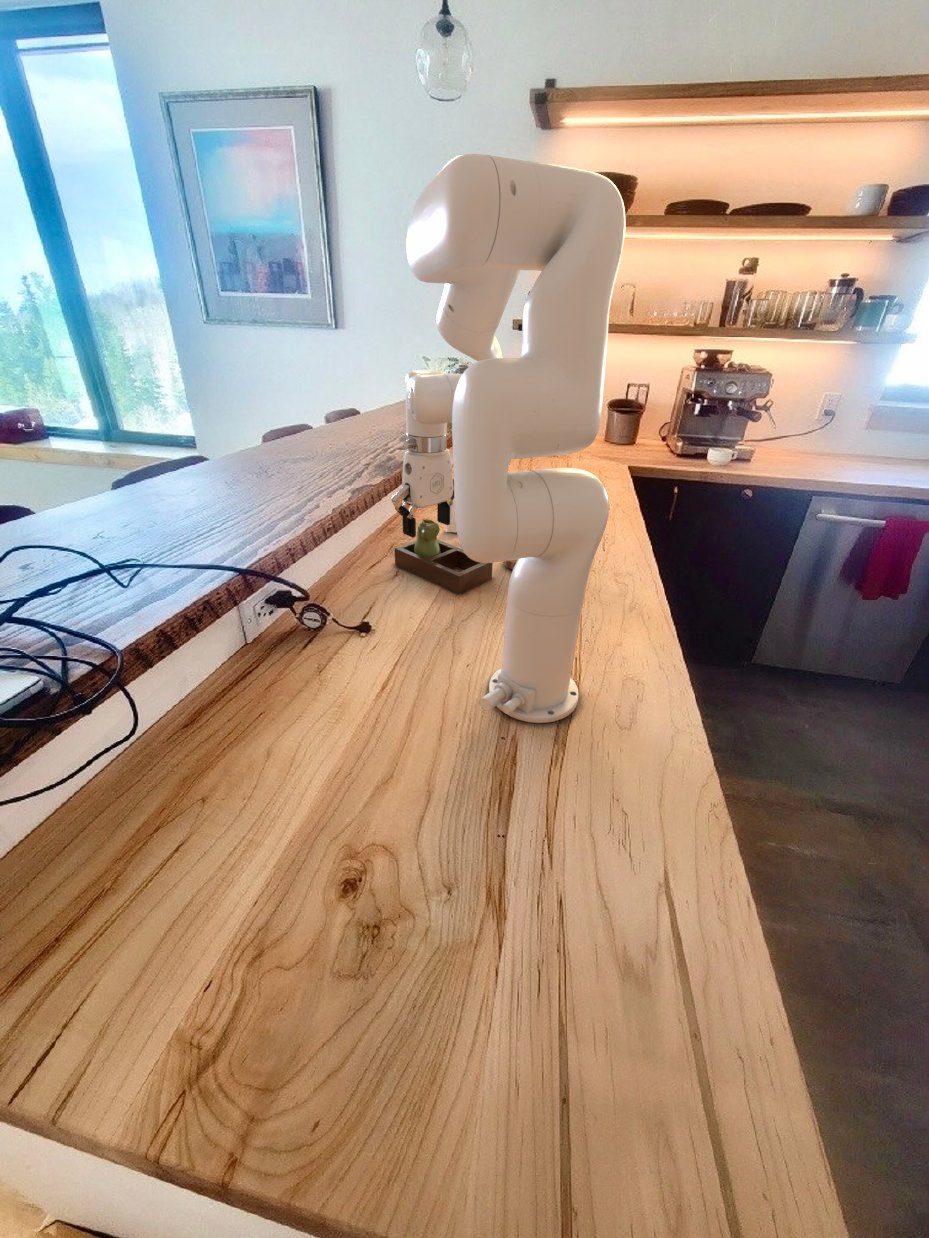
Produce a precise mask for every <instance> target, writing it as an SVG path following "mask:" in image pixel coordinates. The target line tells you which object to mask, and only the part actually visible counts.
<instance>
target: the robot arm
mask: <svg viewBox="0 0 929 1238" xmlns="http://www.w3.org/2000/svg"><path fill="white" fill-rule="evenodd" d="M625 235H626V211H625V205H624V200H623V198H622V195H621V192H620V191H619V189H618V188H617V186H616V185H615V184H614V182H613V181H612V180H610V179H609V178H608V177H607V176H605V175H601V174H599V173H597V172H594V171H589V170H585V169H581V168H577V167H573V166H565V165H559V164H553V163H548V162H547V163H546V162H540V161H531V160H522V159H517V158H509V157H503V156H496V155H491V154H480V153H463V154H460V155H457V156H455V157H454V158H452V159H451V160H449V161H448V162H447V163H446V164H445V165H444V166H443V167H442V169H441V170H440V171H439V172H438V173H437V174H436V175H435V176H434V177H433V178H432V179H431V180H430V182H428V183H427V185H426V186H425V187H424V188H423V189H422V191H421V192H420V194H419V196H418V198H417V199H416V202H415V203H414V206H413V208H412V210H411V214H410V217H409V219H408V225H407V231H406V257H407V262H408V266H409V268H410V271H411V273H412V274H413V276H414V277H415V278H416V279H418V280H419V281H420V282H423V283H427V284H444V286H443V290H442V293H441V297H440V301H439V305H438V307H437V313H436V319H435V322H436V326H437V330H438V332H439V334H440V336H441V338H443V340H444V341H445V342H446V343H447V344H448V345H449V346H450V347H451V348H452V349H454V350H457V351H458V352H459V353H461V354H464V355H465V356H467V357H468V358H470V359H473V360H475V362H474V363H472V364H470V365H469V366H468V367H467V368H466V369H465V370H464V371H463V373H445V372H443V371H441V370H435V369H412V370H410V371H409V372H407V373H406V375H405V378H404V379H405V380H404V382H405V383H404V390H405V391H404V393H405V395H404V396H405V424H406V425H405V427H406V428H405V430H406V436H405V437H406V440H404V441H403V447H404V449H406V451H405V452H404V455H403V463H402V473H401V475H402V476H401V488H400V489H399V490H398V491H396V492H395V494H393V495H392V497H391V498H390V499H391V500H390V501H391V503H392V505H393V507H394V510H395V512H397V513H398V514H399V516H401V517H402V533H403V535H406V536H408V537H410V538H416V536H417V519H416V517H414V516H415V515H416V512H417V510H418V509H425V508H428V507H432V506H435V505H437V508H436V509H437V511H436V513H437V516H436V518H437V519H436V520H437V522H438V523H440V524H443V525H445V526H446V525H449V524H450V506H452V504H453V499H454V504H455V521H456V530H457V532H456V534H457V539H458V542H459V545H460V547H461V548H460V549H462V550H463V551H464V553H465V554H466V555H467V556H468V557H469V558H470V559H472V560H474V561H476V562H480V563H493V564H494V563H501V562H503V563H504V561H509V560H515V559H518V561H517V562H516V564H515V566H514V569H513V570H512V571H511V573H510V577H509V582H508V588H507V599H506V610H505V611H506V612H505V621H504V633H503V644H502V645H503V646H502V657H501V658H502V660H501V667H500V668H498V669H497V670H496V671H495V672H494V673H493V674H492V675H491V677H490V679H489V683H488V693H487V694H485V695H484V696H482V697H481V698H480V699H479V705H480V707H481V708H482V709H483V710H484V711H485V712H489V711H491V710H493V709H494V708H495V707H496V708H497V709H498V710H499V711H500V712H502V713H503V714H505V715H507V716H509V717H510V718H514V719H515V720H519V721H523V722H527V723H534V724H547V723H552V722H557V721H559V720H562V719H564V718H567V717H568V716H570V715H571V714H572V713H573V712H574V711H575V709H576V708H577V705H578V702H579V697H580V693H579V688H578V686H577V683H576V682H575V680H573V678H572V677H571V676H572V671H573V665H574V659H575V653H576V649H577V643H578V642H577V641H578V636H579V631H580V626H581V625H580V624H581V618H582V613H583V608H584V603H585V598H586V592H587V587H588V581H589V576H590V573H591V569H592V565H593V563H594V559H595V556H596V553H597V551H598V548H599V546H600V543H601V542H602V539H603V536H604V533H605V530H606V527H607V523H608V520H609V514H610V499H609V496H608V491H607V489H606V487H605V485H604V484H603V483H602V481H601V480H600V479H599V478H598V477H597V476H596V475H595V474H594V473H591V472H590V471H587V470H584V469H582V468H575V467H551V468H538V469H537V468H536V469H528V470H519V471H520V472H518V471H509V468H510V464H511V461H512V460H521V459H532V458H545V457H556V456H557V457H558V456H565V455H572V454H575V453H579V452H581V451H585V450H586V449H587V448H588V447H590V446H591V445H592V444H593V443H594V441H595V440H596V437H597V435H598V432H599V431H600V425H601V420H602V414H603V413H602V412H603V401H604V390H605V377H606V376H605V375H606V364H607V363H606V362H607V351H608V350H607V349H608V339H609V338H608V337H609V319H610V311H611V310H610V309H611V301H612V296H613V292H614V287H615V283H616V279H617V276H618V271H619V267H620V263H621V258H622V254H623V250H624V249H623V248H624V242H625ZM521 271H539V272H540V273H539V275H538V276H537V278H536V280H535V282H534V283H533V285H532V287H531V289H530V291H529V293H528V295H527V297H526V300H525V303H524V305H523V310H522V320H521V321H522V323H521V327H522V328H521V331H522V332H521V334H522V335H521V337H522V340H521V353H520V354H521V355H520V357H519V358H517V357H515V358H514V357H503V356H504V355H503V352H502V349H501V345H500V343H499V341H498V339H497V337H496V331H498V330H497V329H498V327H499V325H500V322H501V320H502V317H503V314H504V312H505V310H506V307H507V304H508V302H509V299H510V297H511V295H512V292H513V290H514V287H515V285H516V282H517V279H518V278H519V275H520V272H521ZM450 423H451V439H452V441H451V442H452V457H451V453H450V449H449V448H447V447H448V446H447V442H448V440H447V439H448V424H450ZM408 509H409V510H408Z"/></svg>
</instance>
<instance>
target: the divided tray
mask: <svg viewBox="0 0 929 1238" xmlns="http://www.w3.org/2000/svg"><path fill="white" fill-rule="evenodd" d="M437 541H438V544H439V547H440V552H441V554H438V555H436V556H433V557H431V558H428V559H426V558H424V557H422V556H419V555H417V554H415V553H414V546H415V542H416V540H413V541H411V542H408V543H405V544H402V545H399V546H396V547H394V548H393V549H394V550H393V551H394V566H396V567H398V568H400V569H402V570H404V571H407V572H409V573H411V574H413V575H414V576H417V577H419V578H421V579H423V580H426V581H428V582H429V583H432V584H434V585H436V586H439V587H440V588H443V589H445V590H447V591H449V592H451V593H453V594H456V595H457V596H460V595H462V594H463V593H466V592H468V591H470V590H472V589H474V588H476V587H478V586H480V585H482V584H485V583H487V582H488V581H490V580H492V579H493V564H494V563H480V562H476V561H474V560H472V559H470V558H469V557H468V556H467V555H466V554H465V553H464V551H463V550H462V548H460V547H458V546H455V545H452V544H450V543H447V542H445V541H443V540H440V539H437ZM454 569H459V570H461V571H459V572H458V571H457V570H454Z"/></svg>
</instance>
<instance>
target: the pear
mask: <svg viewBox="0 0 929 1238" xmlns="http://www.w3.org/2000/svg"><path fill="white" fill-rule="evenodd" d="M439 534H440V526H439V524H438V523H437V522H435V521H433V520H432V519H422V520H421V522H419V525H418V526H417V529H416V536H417V537H416V539H415V541H416V542H415V546H414V553H415V554H417V555H419V556H422V557H424V558H426V559H428V558H431V557H433V556H436V555H438V554H441V552H440V547H439V544H438V541H437V540H438V538H437V537H438V536H439Z"/></svg>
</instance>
